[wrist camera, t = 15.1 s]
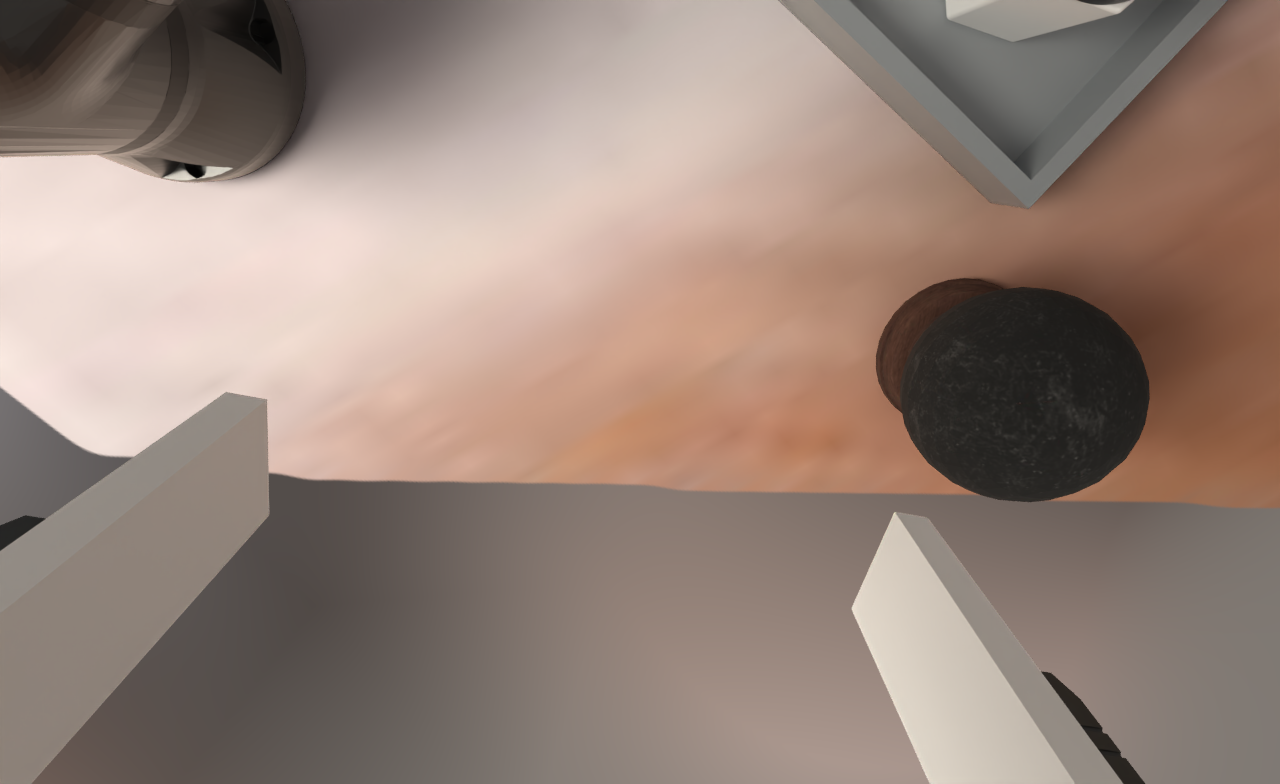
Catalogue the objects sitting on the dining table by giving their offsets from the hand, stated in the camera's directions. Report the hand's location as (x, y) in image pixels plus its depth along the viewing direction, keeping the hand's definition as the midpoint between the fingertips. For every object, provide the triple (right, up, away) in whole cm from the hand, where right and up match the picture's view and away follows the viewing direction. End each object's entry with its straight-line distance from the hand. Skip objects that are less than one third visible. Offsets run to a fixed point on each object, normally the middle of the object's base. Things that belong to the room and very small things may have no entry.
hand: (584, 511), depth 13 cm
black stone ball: (+24, +5, +34) cm, 42 cm away
